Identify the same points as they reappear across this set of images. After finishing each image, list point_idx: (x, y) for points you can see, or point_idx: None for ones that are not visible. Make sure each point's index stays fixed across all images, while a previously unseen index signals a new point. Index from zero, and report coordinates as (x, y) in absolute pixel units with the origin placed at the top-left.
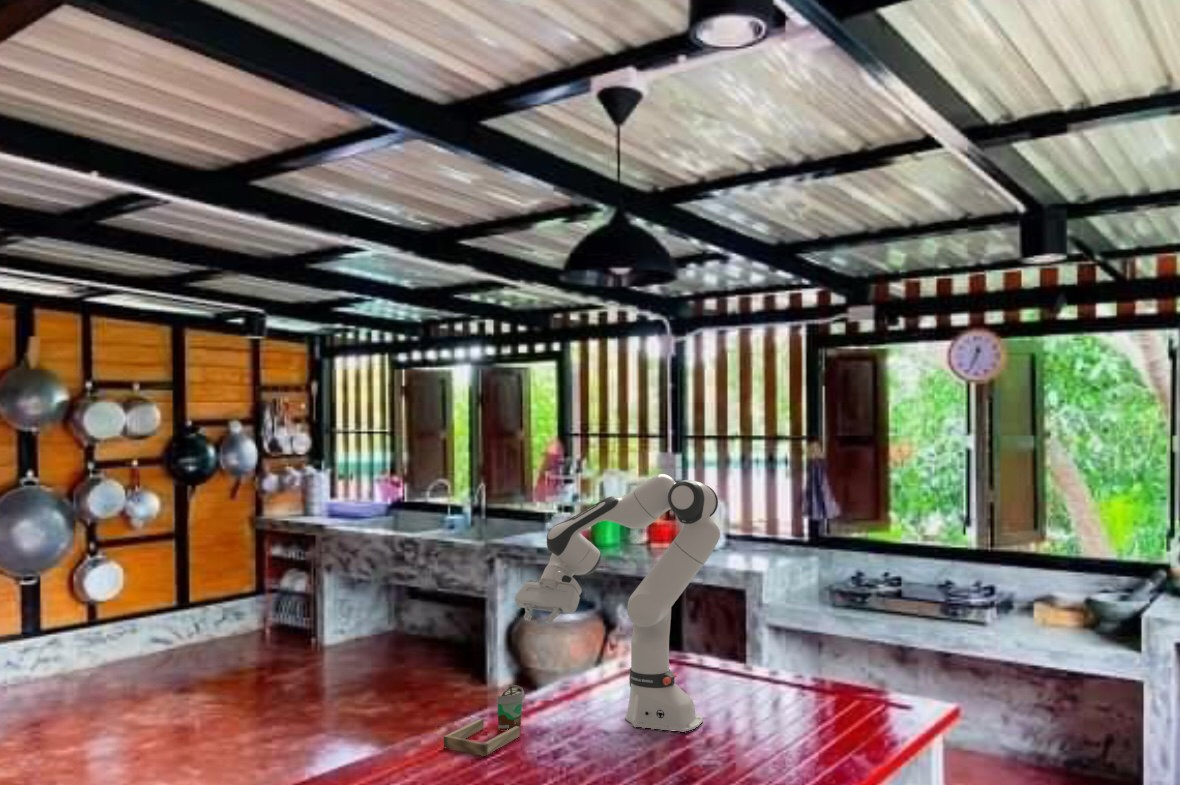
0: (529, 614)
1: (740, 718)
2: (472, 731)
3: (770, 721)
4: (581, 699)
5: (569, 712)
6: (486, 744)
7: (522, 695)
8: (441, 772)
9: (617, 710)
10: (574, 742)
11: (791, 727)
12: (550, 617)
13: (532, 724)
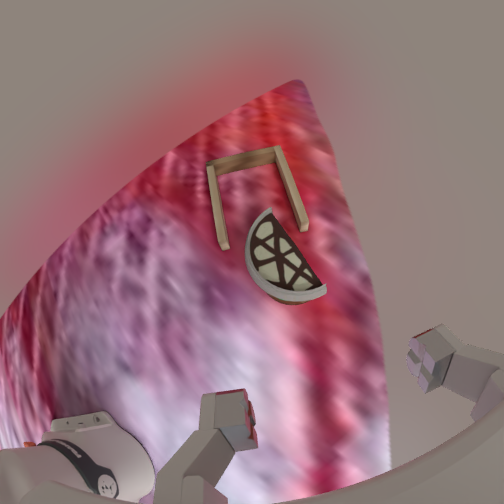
0: (428, 359)
1: None
2: (291, 201)
3: None
4: (289, 489)
5: None
6: (206, 165)
7: (249, 267)
8: (218, 125)
9: None
10: (137, 296)
11: None
12: (202, 414)
13: (255, 315)
